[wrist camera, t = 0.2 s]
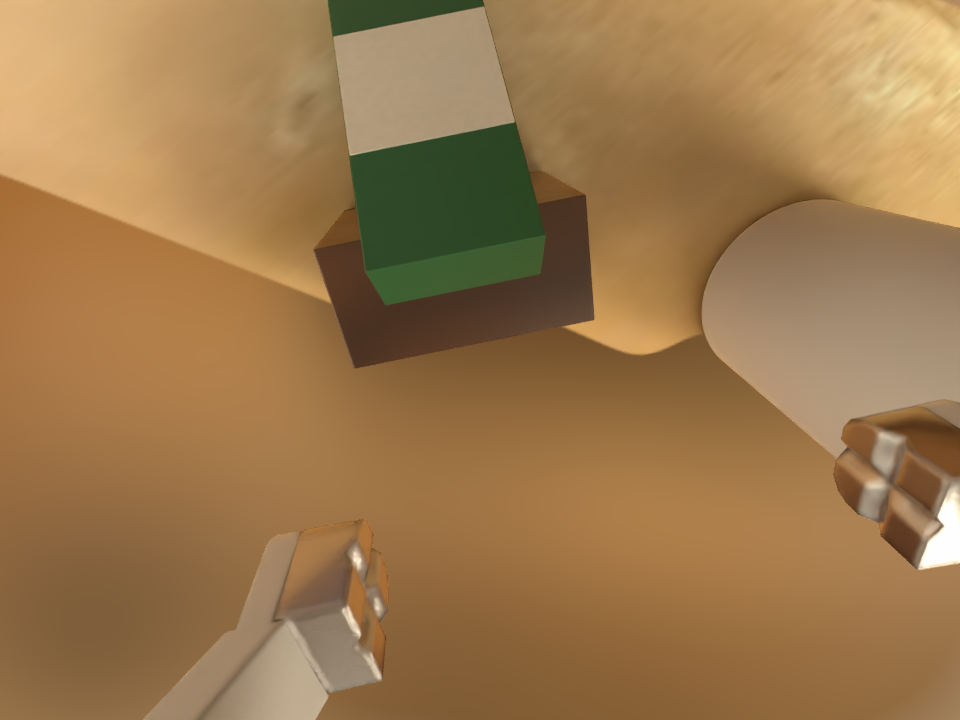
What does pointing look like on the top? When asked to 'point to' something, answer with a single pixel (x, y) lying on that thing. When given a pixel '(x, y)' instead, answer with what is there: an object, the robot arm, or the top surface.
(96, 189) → the top surface
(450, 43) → the block
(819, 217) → the cylinder vase
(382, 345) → the block
